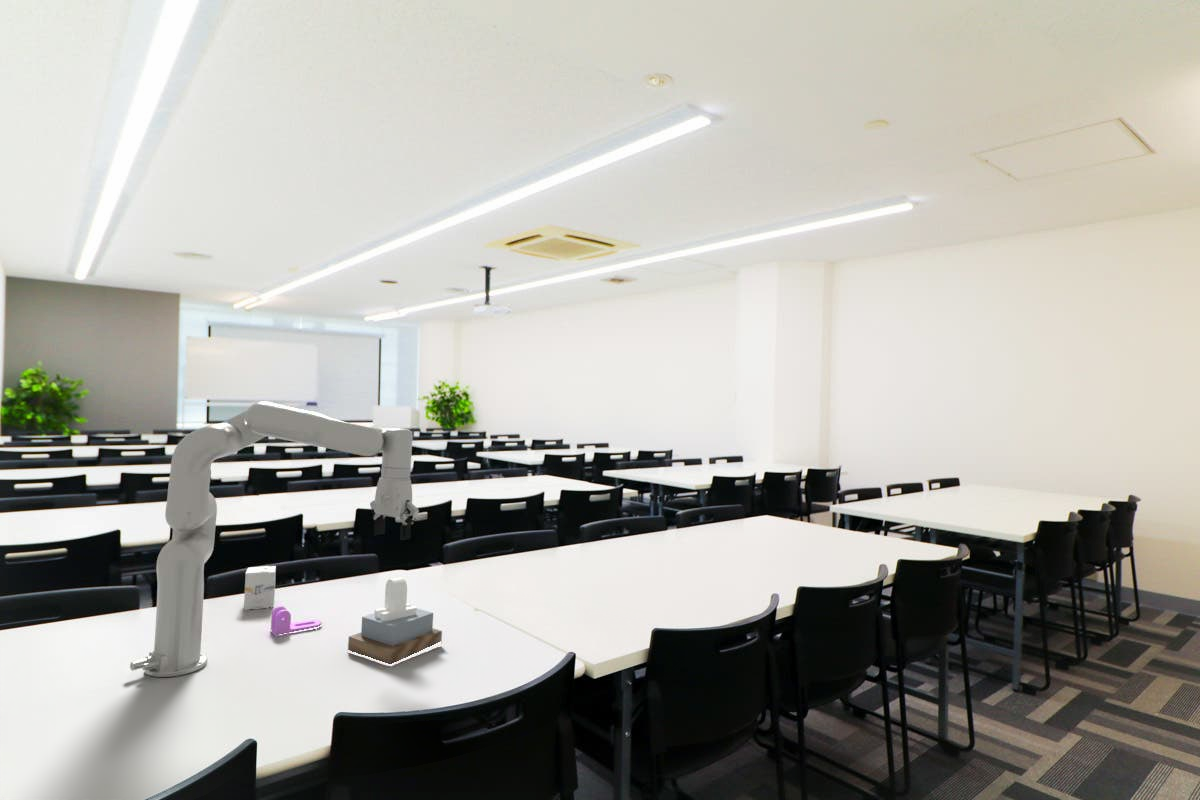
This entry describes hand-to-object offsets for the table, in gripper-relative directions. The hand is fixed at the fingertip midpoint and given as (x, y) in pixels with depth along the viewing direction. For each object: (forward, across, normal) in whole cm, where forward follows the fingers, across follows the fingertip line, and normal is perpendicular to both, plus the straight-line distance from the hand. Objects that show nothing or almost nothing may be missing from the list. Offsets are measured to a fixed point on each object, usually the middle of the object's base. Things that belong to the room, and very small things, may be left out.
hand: (392, 536), depth 173 cm
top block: (+26, +2, +2) cm, 26 cm away
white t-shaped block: (+21, +2, +1) cm, 21 cm away
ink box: (+31, -60, +3) cm, 68 cm away
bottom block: (+31, +2, +2) cm, 31 cm away
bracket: (+31, -32, -4) cm, 44 cm away
